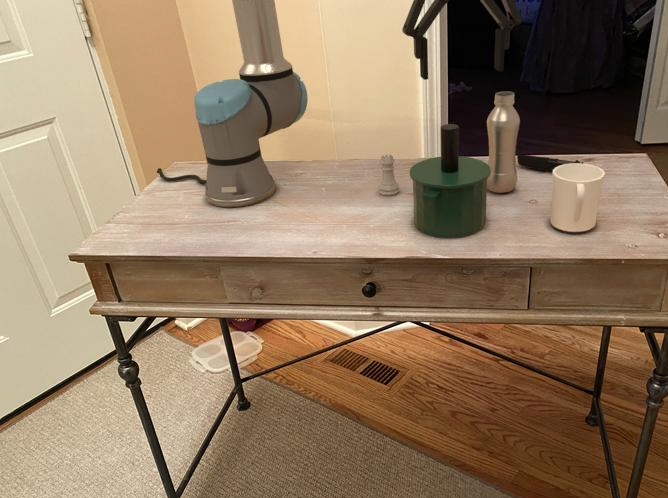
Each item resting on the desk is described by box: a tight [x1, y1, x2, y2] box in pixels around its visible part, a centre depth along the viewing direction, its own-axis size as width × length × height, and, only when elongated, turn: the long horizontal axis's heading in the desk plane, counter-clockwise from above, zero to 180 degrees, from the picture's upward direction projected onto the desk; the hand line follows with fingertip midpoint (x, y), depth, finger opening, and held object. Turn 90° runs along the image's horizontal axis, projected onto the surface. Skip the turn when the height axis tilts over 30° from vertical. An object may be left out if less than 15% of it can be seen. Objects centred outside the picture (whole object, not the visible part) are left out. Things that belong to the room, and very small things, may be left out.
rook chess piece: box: [378, 154, 400, 197], centre depth 130 cm, size 4×4×8 cm
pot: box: [412, 179, 488, 239], centre depth 115 cm, size 14×19×10 cm
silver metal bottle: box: [486, 91, 521, 194], centre depth 124 cm, size 6×7×20 cm
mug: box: [549, 163, 606, 235], centre depth 110 cm, size 11×9×10 cm
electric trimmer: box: [516, 153, 585, 172], centre depth 136 cm, size 4×16×3 cm, turn 58°
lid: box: [409, 123, 491, 189], centre depth 110 cm, size 15×15×9 cm
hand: (461, 74), depth 107 cm, fingers open, 13 cm apart
